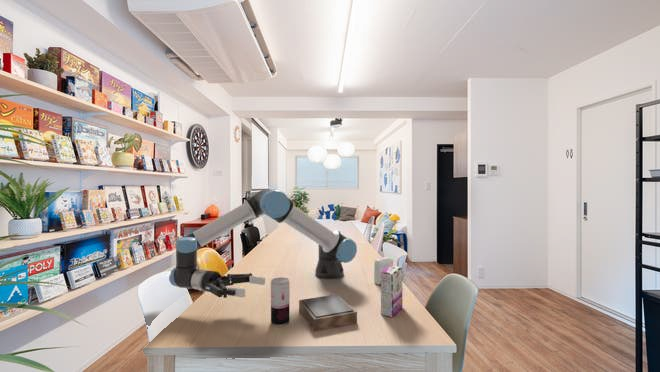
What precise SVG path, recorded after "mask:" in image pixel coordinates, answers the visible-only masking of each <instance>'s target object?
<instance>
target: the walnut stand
mask: <svg viewBox="0 0 660 372" xmlns="http://www.w3.org/2000/svg"><path fill="white" fill-rule="evenodd" d="M298 310H299V312H300V314H301V315H302V316H303V318H304V320H305V321H306V322H307V323H308V325H309V326H310V327H311V329H312V330H313V332H318V331H322V330H323V331H324V330H328V329H334V328H339V327H345V326H348V325H349V326H350V325H355V324H358V311H357V310H355V308H353V307H352V306H351V305H350V304H348V303H347V301H345V300H344V299H343V298H342V297H341V296H340V295H338V294H331V295H325V296H317V297H316V296H315V297H310V298H303V299H299V300H298Z"/></svg>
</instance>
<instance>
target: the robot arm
mask: <svg viewBox="0 0 660 372" xmlns="http://www.w3.org/2000/svg"><path fill="white" fill-rule="evenodd" d="M262 215H266V216H267V217H269V218H271V220H274V221H275V222H277V223H278V224H281V223H285V224H286V225H288V226H289V227H291V228H292V229H294V230H295V231H297V232H299V233H301V234H302V235H304V236H305V237H306V238H308V239H310V240H311V241H313V242H314V243H316V244H318V261H317V264H316V267H315V272H314V273H315V276H316V277H318V278H321V279H336V278H337V279H338V278H341V277H343V276H344V273H345V271H344V267H343V264H342V263H344V264H346V263H350V262H352V261H353V260H354V259H355V257H356V255H357V252H358V247H357V242H356V241H354V240H353V239H351V238H349V237H346V236H345V235H343V234H342V233H341V231H339V230H331V229H329V228H328V227H326V226H324V225H323V224H322V223H320V222H319V221H317V220H316V219H314V218H313V217H312V216H310V215H309V214H307V213H305V212H304V211H302V210H301V209H299V208H298V207H296V206H295V201H294V200H292V199H291V198H289V197H288V195H287V194H286V193H285V192H283V191H282V190H279V189H271V188H270V189H269V188H264V189H262V190H260V191H258V192H256V193H255V194H253V195H252V196H250V197H249V198H247V199H245V200H244V202H243V203H242V204H240V205H239V206H237V207H235V208H233V209H232V210H230V211H228V212H227V213H224V214H223V215H221V216H219V217H218V218H215V219H214V220H212V221H211V222H209V223H207V224H204V225H203V226H202V227H200V228H198V229H196V230H195V231H192V232H191V233H189V234H187V235H183V236H181V237H179V238H178V239H177V240H176V242H175V261H176V263H175V267H173V269H172V270H171V271H170V275H169V277H168V281H169V283H170V284H171V285H172V286H173V287H178V288H180V289H191V290H199V292H202V291H205V292H208V293H211V294H212V295H214V296H216V297H218V298H222V297H223V299H227V298H228V296H231V297H236V298H237V297H238V298H243V299H245V297H246V288H240V287H239V288H238V287H232V286H233V285H235V284H237V285H238V284H242V283H245V284H246V283H249V284H251V285H253V284H254V285H260V286H261V285H262V286H265V285H266V277H263V276H257V275H256V276H254V275H253V273H251V272H249V273H233V274H232V273H228V274H227V275H221V274H220V272H219V271H217V270H216V271H215V270H210V269H209V270H208V269H199V268H198V264H197V263H198V261H197V260H198V250H199V249H201V248H202V247H204V246H206V245H208V244H209V243H211V242H213V241H214V240H216V239H218V238H219V237H221V236H223V235H224V234H226V233H228V232H230V231H231V230H233V229H235V228H237V227H238V226H240V225H241V224H243V223H245V222H246V221H249V220H250V219H252V218H254V219H256V218H258V217H259V216H262ZM228 286H229V287H228Z"/></svg>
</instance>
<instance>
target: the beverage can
mask: <svg viewBox="0 0 660 372" xmlns="http://www.w3.org/2000/svg"><path fill="white" fill-rule="evenodd" d="M270 322H271V324H272V325H273V326H276V327H279V326H285V325H288V324H289V322H290V279H289V278H287V277H275V278H272V279H271V281H270Z"/></svg>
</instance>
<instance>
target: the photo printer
mask: <svg viewBox="0 0 660 372" xmlns="http://www.w3.org/2000/svg"><path fill="white" fill-rule="evenodd" d="M391 265H394V259H392V257H388V256H387V257H385V256H383V257H379V258H378V259H376V260H375V261H374V270H373V271H374V273H373V274H374V283H375V284H376V285H381V272H382V271H384V270H385V269H387V268H388V267H389V266H391Z"/></svg>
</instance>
